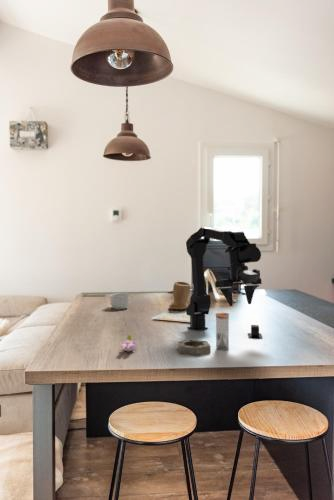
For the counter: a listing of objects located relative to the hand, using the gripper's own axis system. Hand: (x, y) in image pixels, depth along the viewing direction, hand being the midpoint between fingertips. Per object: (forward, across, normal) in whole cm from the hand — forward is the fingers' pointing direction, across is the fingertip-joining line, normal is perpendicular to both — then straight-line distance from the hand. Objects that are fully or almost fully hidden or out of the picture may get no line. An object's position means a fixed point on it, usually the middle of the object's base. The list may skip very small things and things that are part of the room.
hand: (240, 305), depth 163 cm
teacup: (+3, -5, +95) cm, 95 cm away
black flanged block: (+14, +12, +6) cm, 19 cm away
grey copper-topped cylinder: (+14, -12, -2) cm, 19 cm away
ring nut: (+14, -22, +1) cm, 26 cm away
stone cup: (+5, +23, +75) cm, 79 cm away
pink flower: (+13, -41, +14) cm, 45 cm away
